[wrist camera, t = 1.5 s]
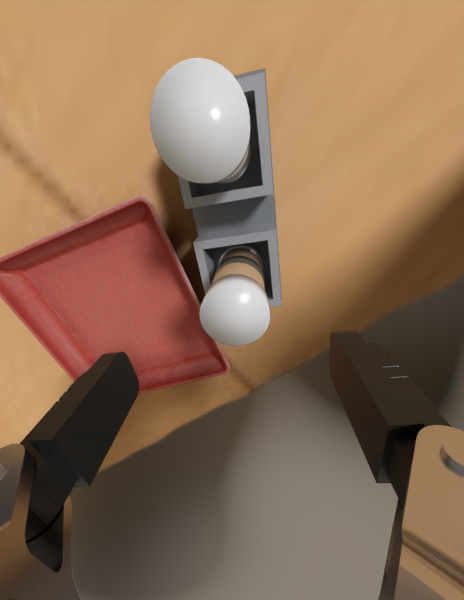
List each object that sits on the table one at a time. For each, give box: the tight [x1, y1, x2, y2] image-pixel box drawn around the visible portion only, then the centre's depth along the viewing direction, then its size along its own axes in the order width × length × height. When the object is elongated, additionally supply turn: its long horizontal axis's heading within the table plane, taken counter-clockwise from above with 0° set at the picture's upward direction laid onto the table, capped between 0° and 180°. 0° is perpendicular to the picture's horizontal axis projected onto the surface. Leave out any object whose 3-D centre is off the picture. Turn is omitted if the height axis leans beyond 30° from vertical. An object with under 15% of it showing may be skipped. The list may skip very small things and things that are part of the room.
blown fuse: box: [199, 243, 270, 346], centre depth 16 cm, size 4×4×9 cm
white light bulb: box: [150, 58, 251, 183], centre depth 12 cm, size 4×4×9 cm
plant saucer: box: [0, 195, 230, 394], centre depth 23 cm, size 18×18×3 cm
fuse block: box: [177, 69, 282, 307], centre depth 17 cm, size 6×16×4 cm, turn 9°
